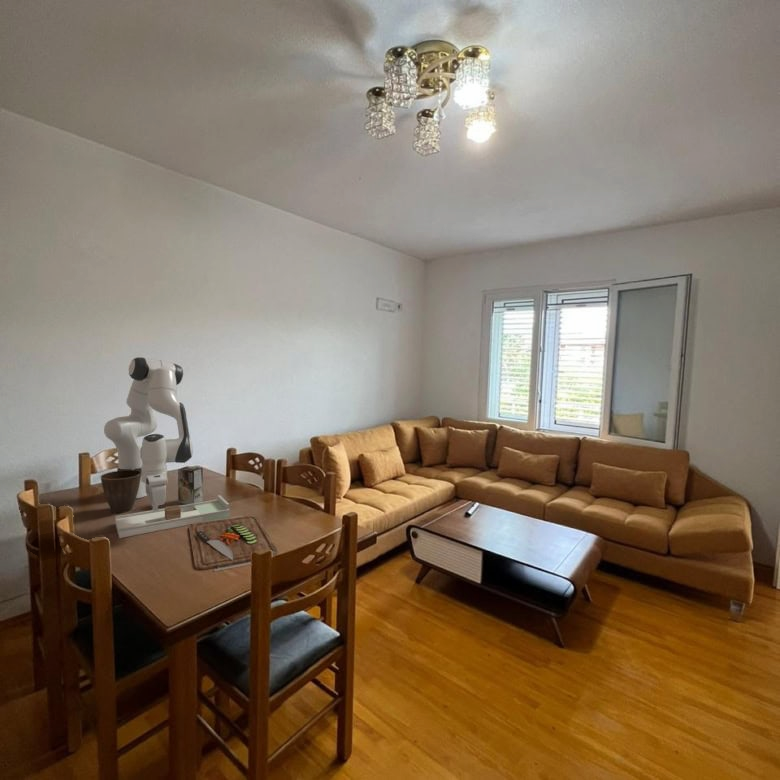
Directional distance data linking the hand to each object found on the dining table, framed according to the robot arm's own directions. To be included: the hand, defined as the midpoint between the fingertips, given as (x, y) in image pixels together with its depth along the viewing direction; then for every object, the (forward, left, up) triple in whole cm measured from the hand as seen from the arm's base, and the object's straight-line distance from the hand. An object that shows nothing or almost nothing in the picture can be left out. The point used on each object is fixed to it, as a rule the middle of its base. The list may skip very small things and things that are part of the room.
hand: (154, 510), depth 166 cm
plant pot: (-28, -9, -7) cm, 30 cm away
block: (-1, +6, -4) cm, 8 cm away
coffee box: (-24, +18, -7) cm, 31 cm away
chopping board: (+28, +21, -8) cm, 36 cm away
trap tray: (-3, +8, -7) cm, 11 cm away
